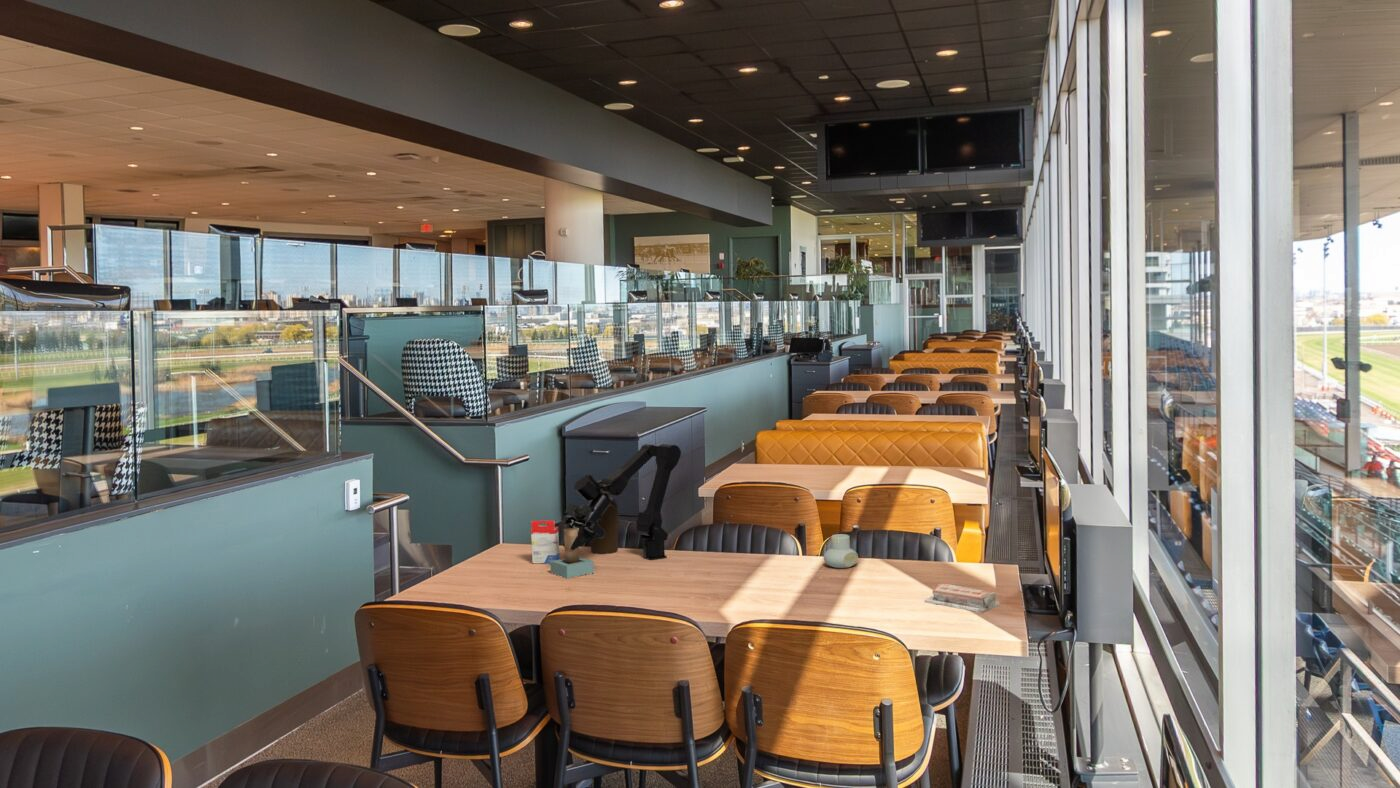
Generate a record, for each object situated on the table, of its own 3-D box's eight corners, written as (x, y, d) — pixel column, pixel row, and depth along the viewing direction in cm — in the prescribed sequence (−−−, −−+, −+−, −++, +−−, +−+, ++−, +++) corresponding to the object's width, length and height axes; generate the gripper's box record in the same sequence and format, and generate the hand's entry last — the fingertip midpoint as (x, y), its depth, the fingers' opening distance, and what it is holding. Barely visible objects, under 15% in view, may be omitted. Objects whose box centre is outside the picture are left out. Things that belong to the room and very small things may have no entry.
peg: (580, 565, 345) (578, 527, 344) (578, 568, 340) (576, 530, 340) (566, 566, 345) (565, 528, 344) (564, 569, 340) (562, 530, 340)
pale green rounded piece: (839, 571, 335) (838, 540, 335) (819, 567, 341) (819, 536, 341) (862, 565, 342) (861, 534, 342) (842, 561, 349) (841, 531, 348)
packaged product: (1000, 589, 290) (982, 597, 283) (1000, 607, 290) (982, 615, 283) (942, 579, 303) (923, 586, 295) (942, 596, 303) (923, 604, 296)
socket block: (577, 568, 350) (576, 556, 350) (593, 573, 342) (593, 561, 342) (550, 573, 344) (550, 561, 343) (567, 578, 336) (566, 566, 335)
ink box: (560, 560, 362) (558, 517, 362) (556, 563, 358) (555, 520, 357) (535, 560, 363) (533, 518, 362) (531, 564, 358) (530, 520, 358)
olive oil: (625, 551, 374) (623, 480, 373) (599, 555, 368) (597, 484, 366) (609, 546, 383) (606, 477, 381) (583, 551, 376) (581, 481, 375)
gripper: (564, 491, 351) (536, 529, 345) (595, 497, 336) (567, 537, 330) (586, 511, 356) (559, 549, 350) (617, 518, 342) (589, 558, 336)
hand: (567, 547), depth 341 cm, fingers closed on peg, 4 cm apart
